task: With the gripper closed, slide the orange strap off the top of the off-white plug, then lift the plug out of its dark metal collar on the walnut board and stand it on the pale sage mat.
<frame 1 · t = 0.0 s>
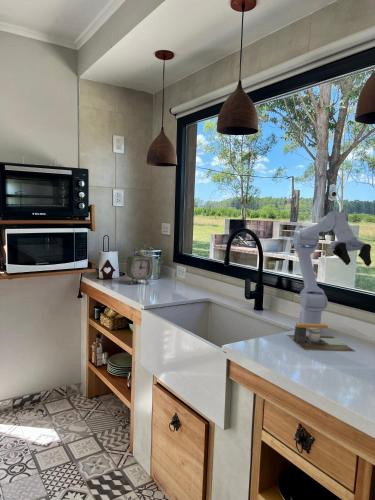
hand: (358, 263, 125), 32 cm above the worktop, tool tilted 50°, fingers open, 7 cm apart
tabletop clock: (137, 284, 227), on the worktop
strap: (311, 325, 135), point 7 cm above the worktop, slide at 0.0 cm
sage mat: (333, 342, 138), resting on board
plug: (313, 342, 136), point 1 cm above the worktop, touching board
board: (319, 345, 136), on the worktop
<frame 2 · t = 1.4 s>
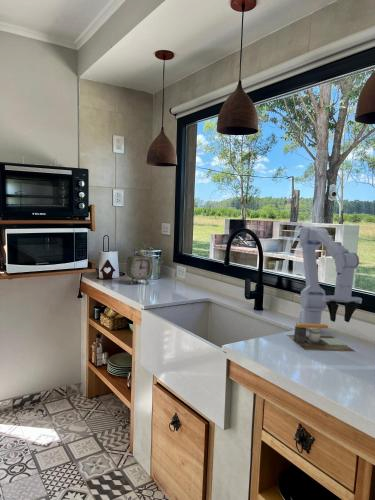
hand: (339, 321, 136), 9 cm above the worktop, tool pointing down, fingers open, 5 cm apart
nothing on the worktop moved.
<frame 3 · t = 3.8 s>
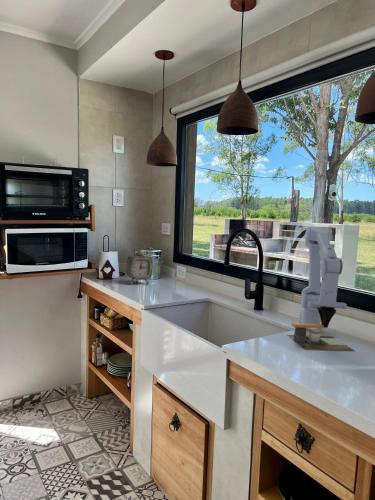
hand: (324, 327, 136), 7 cm above the worktop, tool pointing down, fingers closed
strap: (307, 325, 135), point 7 cm above the worktop, slide at 1.6 cm, touching gripper
everything else where it was.
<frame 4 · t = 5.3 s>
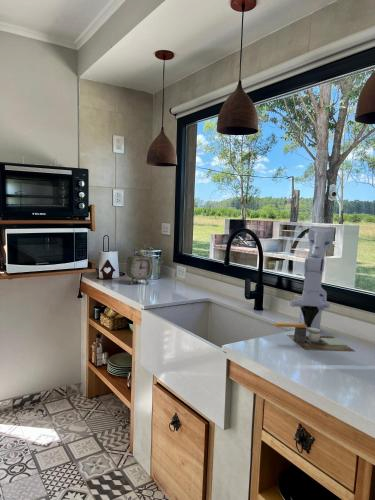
hand: (307, 326, 135), 7 cm above the worktop, tool pointing down, fingers closed
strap: (290, 325, 134), point 7 cm above the worktop, slide at 8.3 cm, touching gripper
everything else where it was.
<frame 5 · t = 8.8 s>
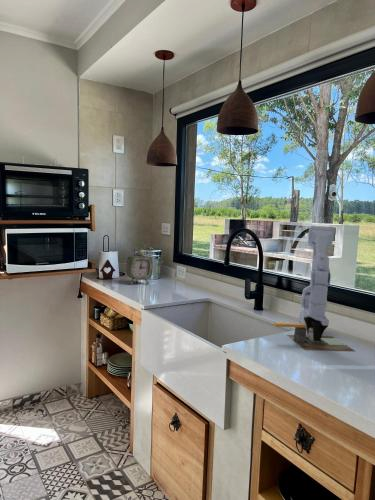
hand: (313, 338, 136), 2 cm above the worktop, tool pointing down, fingers closed on plug, 4 cm apart
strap: (290, 325, 134), point 7 cm above the worktop, slide at 8.4 cm
plug: (313, 342, 136), point 1 cm above the worktop, touching board, gripper
everything else where it was.
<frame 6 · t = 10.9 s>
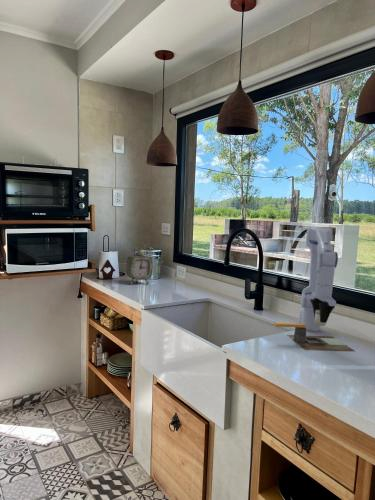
hand: (320, 320, 136), 9 cm above the worktop, tool pointing down, fingers closed on plug, 4 cm apart
plug: (319, 324, 136), point 8 cm above the worktop, touching gripper
everything else where it was.
when the fingers open (4 cm above the worktop, at t = 12.9 s): plug drops 1 cm, resting on sage mat.
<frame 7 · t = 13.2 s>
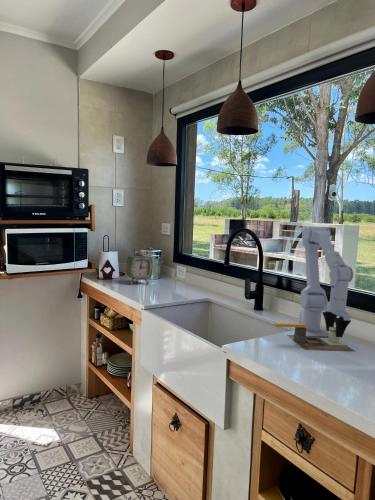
hand: (334, 333, 138), 4 cm above the worktop, tool pointing down, fingers open, 6 cm apart
plug: (333, 341, 138), point 1 cm above the worktop, touching sage mat
everything else where it was.
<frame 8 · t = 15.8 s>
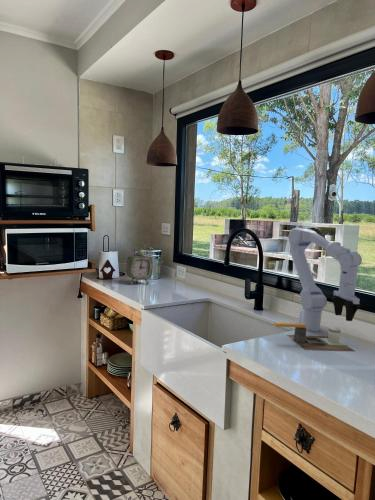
hand: (343, 317, 142), 9 cm above the worktop, tool pointing down, fingers open, 7 cm apart
nothing on the worktop moved.
at the end: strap slide at 8.4 cm; plug 0.0 cm from the target spot, point 1.3 cm above the worktop; plug tilted 0° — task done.
